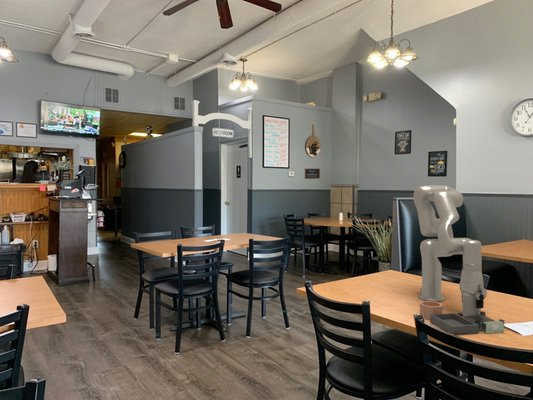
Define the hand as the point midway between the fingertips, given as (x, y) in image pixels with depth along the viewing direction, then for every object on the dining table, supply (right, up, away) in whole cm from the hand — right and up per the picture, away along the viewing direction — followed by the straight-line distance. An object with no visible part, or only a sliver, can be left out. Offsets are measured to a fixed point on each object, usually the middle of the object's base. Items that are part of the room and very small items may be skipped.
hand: (472, 305), depth 178 cm
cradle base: (-2, -6, -12) cm, 14 cm away
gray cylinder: (0, -6, +1) cm, 6 cm away
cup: (-18, -6, +1) cm, 19 cm away
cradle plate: (-2, -5, -11) cm, 12 cm away
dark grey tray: (-15, -6, -13) cm, 20 cm away
